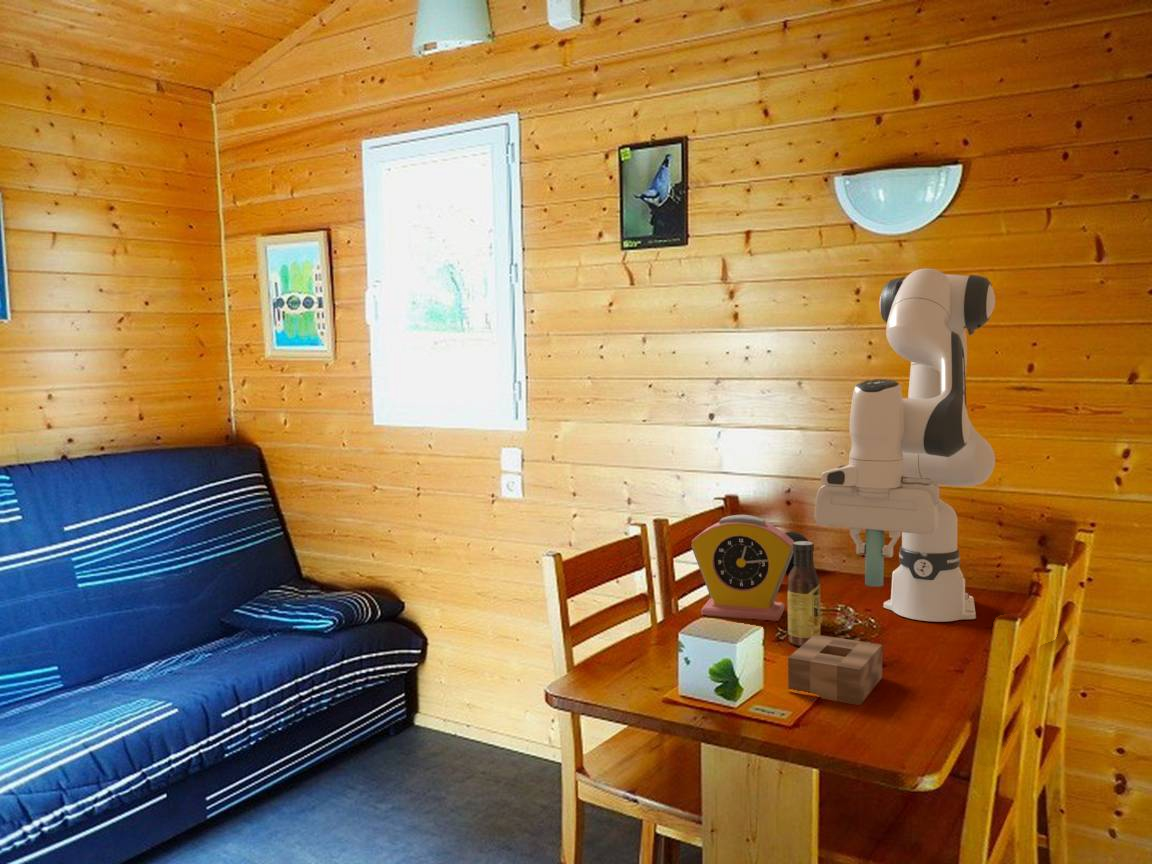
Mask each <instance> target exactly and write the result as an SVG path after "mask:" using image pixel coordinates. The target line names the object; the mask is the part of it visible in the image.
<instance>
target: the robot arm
mask: <svg viewBox="0 0 1152 864" xmlns="http://www.w3.org/2000/svg"><path fill="white" fill-rule="evenodd" d="M878 304H879V312H880V315H881V318H882V320H883V321H884V322H885V323H886V326H885V327H886V330H885V336H886V339H887V342H888V344H889V346H890V347H891V349H892V350H893V351H894V352H895V353H896V354H897V355H898V356H900V357H901V358H903V359H904V360H906V361H908V362H910V369H909V381H908V383H909V384H908V394H907V397H905V398H904V397H903V393H902V388H901V384H900V382H897V381H896V380H892V379H883V378H882V379H881V378H879V379H877V378H876V379H870V380H864V381H861V382H859V383H858V384H856V385H855V387H854V388H853V392H852V393H853V394H852V398H851V403H850V404H851V405H850V412H849V413H850V414H849V430H848V431H849V437H850V440H851V448H850V451H849V455H848V459H849V460H848V464H847V465H846V464H844V465H840V466H838V467H835V468H832V469H828V470H826V471H824V472H822V473H821V474H820V479H821V480H820V482H821V483H822V484H823V485H822V486H821V487H819V488H818V491H817V493H816V498H815V505H814V521H815V522H816V523H817V524H818V525H819V526H826V527H828V526H829V527H837V528H848V529H849V536H850V537H851V539H852V540H853V542H854V545H855V554H856V555H864V556H865V553H866V542H863V541H862V539H861V536H860V535H859V534H860V533H862V529H863V530H866V529H870V530H882V531H884V532H888V537H889V538H891V540H890V541H889V543H888V544H884V546H883V547H882V551H883V553H882V557H884V558H892V557H893V556H894V546H895V545H896V544H897V542H898V540H899V539H900V537H901V545H900V547H899V552H898V556H899V561H898V562H899V563H900V565H899V566H898V567H897V568H895V569H894V570H893V571H892V575H891V590H890V592H891V593H890V599H888V600H886V601H884V602H883V606H882V607H883V608H885V609H887V610H889V611H892V612H893V613H894V614H897V615H898V616H901V617H904V618H907V619H911V620H917V621H922V622H924V621H925V622H933V623H934V622H936V623H937V622H939V623H941V622H942V623H943V622H955V621H959V620H960V621H961V620H975V619H977V614H976V613H977V612H976V607H975V600H974V599H975V598H974V596H972V595H970V594H969V593H967V592H966V578H964V574H963V573H962V571H961V568H960V565H961V561H960V560H961V554H960V550H959V546H958V522H959V520H958V519H959V518H958V516H957V513H956V511H955V509H954V508H953V507H952V506H951V505H950V504H948V503H947V502H945V501H943V500H942V499H941V497H940V496H941V495H940V494H941V490H940V489H941V488H940V486H947V487H948V486H949V487H957V488H959V487H971V486H978V485H982V484H984V483H985V482H986V481H988V479H989V478H990V477H991V475H992V474H993V471H994V468H995V466H996V455H995V452H994V450H993V447H992V446H991V444H990V443H989V442H988V441H987V439H985V437H983V436H982V435H981V434H980V433H979V432H978V431H977V430H976V429H975V427H974V426H973V424H972V422H971V420H970V417H969V414H968V410H967V392H966V391H967V387H966V384H967V383H966V376H967V366H968V365H967V362H968V345H967V344H968V343H967V334H966V329H967V332H968V336H973V334H974V333H975V331H976V330H979V329H980V328H982V327H983V326H984V325H986V324H987V322H989V320H990V318H991V316H992V313H993V311H994V309H995V304H996V295H995V292H994V289H993V284H992V283H991V281H990V280H989V279H988V278H987V277H985V276H981V275H976V274H969V275H961V274H960V275H959V274H945V273H944V272H942V271H941V270H938V269H934V268H925V267H924V268H919V269H916V270H914V271H911V273H909V274H908V275H907V276H902V277H896V278H894V279H890V280H889V281H888V282H887V283H885V284H884V285H883V288H882V290H881V294H880V297H879V303H878Z"/></svg>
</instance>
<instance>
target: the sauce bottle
mask: <svg viewBox="0 0 1152 864" xmlns="http://www.w3.org/2000/svg"><path fill="white" fill-rule="evenodd" d="M808 541H809V540H808ZM808 541H798V542H794V543H793V552H794V562H793V563H794V567H793V568H792V570H791V571H789V574H788V576H787V592H786V593H787V634H788V642H789V643H790V644H791V645H795V646H797V647H801V646H802V645H803V644H804V643H805V642H807V641H808V640H809V639H810V638H811V637H812V636H813V635H814V634H815V635H821V582H820V578H819V577H818V574H817V571H816V567H815V565H814V550H815V545H814V544H815V543H814V542H812V541H809V542H808Z"/></svg>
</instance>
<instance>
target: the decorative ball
mask: <svg viewBox="0 0 1152 864" xmlns="http://www.w3.org/2000/svg"><path fill="white" fill-rule="evenodd" d="M784 533H785V534H786V535H788V536H789V537H790V538H791V539H792V540H793V541H794V542H798V541H808V542H810V541H809V540H808V539H807V538H806V537H805V536H804V535H803V534H801V533H798V532H795V531H788V532H784ZM793 562H794V552H793V555H792V557H791V560H790V563H789V565H788V568H787V570H786V572H787V571H788V572H790V571H791V570H792V568H793V567H794V563H793Z"/></svg>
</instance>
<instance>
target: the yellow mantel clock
mask: <svg viewBox="0 0 1152 864" xmlns="http://www.w3.org/2000/svg"><path fill="white" fill-rule="evenodd" d="M785 533H786V532H785V531H782V530H781V529H779V528H777V527H776V526H775V525H774V524H771V523H768V522H766V519H764V518H762V517H761V518H760V517H759V516H755V515H749V514H735V515H734V514H733V515H728V516H724V517H722V518H721V519H720V520H719V521H718V522H716V523H714V524H712V525H711V526H708V527H707V528H705V529H704V530H703V531H701V532H699V534H698V535H696V536H695V537H694V538H693V539H692V540H691V545H690V546H691V550H692V552H693V555H694V557H695V559H696V563H697V565H698V568H699V570H700V573H701V576H702V578H703V580H704V584H705V585H706V589H707V591H708V592H707V593H708V594H709V596H710V598H708V600H707V601H706V603H705V604H704V605H703V607H701V610H700V613H701V615H702V616H703V615H706V617H718V618H726V619H729V618H730V619H741V620H751V619H757V620H756V621H764V620H771V621H770V622H776V621H777V622H778V621H780V619H781V617H782V615H783V613H784V611H785V609H786V608H785V606H786V604H784V603H783V602H780V601H775V599H776V598H777V595H778V592H779V590H780V588H781V585H782V582H783V581H784V579H783V578H784V577H785V575H786V573H787V568H788V565H789V563H790V560H791V557H792V555H793V543H794V541H793V540H792V539H791V538H790V537H789V536H788V535H786V534H785ZM782 580H783V581H782Z"/></svg>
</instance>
